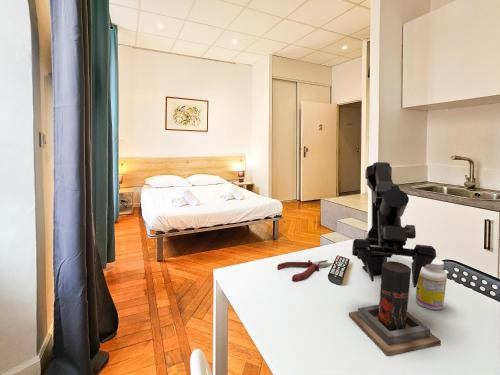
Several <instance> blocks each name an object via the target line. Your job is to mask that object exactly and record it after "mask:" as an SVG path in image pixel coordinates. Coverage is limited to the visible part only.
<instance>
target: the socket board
mask: <svg viewBox="0 0 500 375" xmlns="http://www.w3.org/2000/svg"><path fill="white" fill-rule="evenodd" d="M378 315H379V304H375V305H374V304H373V305H367V306H361V307H358V308H357V311H349V312H348V317H349V318H350V319H351V320H352V321H353V322H354V323H355V325H357V326H358V327H359V328H360V329H361V330H362V332H364V334H365V335H366V336H368V338H369V339H370V340H371V341H372V342H373V343H374V344H375V346H377V347H378V348H379V349H380V350H381V351H382V352H383V353H384V354H385V355H386V357H387V356H392V355H396V354H397V355H399V354H403V353H406V352H411V351H416V350H420V349H426V348H430V347H435V346H440V345H441V344H442V340H441V339H440V338H438V336H436V335H435V334H433V333H432V332H431V330H432V329H431V327H429V326H427V325H426V324H425V323H423V322H422V321H420V320H419V319H418V318H416V317H415V316H414V315H413V314H411V313H410V312H409V311H407V318H406V328H405V329H400V330H395V331H389V330H388V329H387V328H386V327H384V326H383V325H382V324H381V323H380V322H379V321H378Z"/></svg>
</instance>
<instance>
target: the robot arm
mask: <svg viewBox="0 0 500 375" xmlns="http://www.w3.org/2000/svg"><path fill="white" fill-rule="evenodd" d="M390 164H391V163H390V162H385V161H383V162H381V161H375V162H373V164H371V165H367V167H366V168H365V172H364V173H365V176H364V177H365V178H364V179H365V180H366V185H367V187H368V188H369V189H370V190H371V228H370V229H369V230H368V232H367V234H366V237H365V238H364V239H363V238H354V240H353V241H352V250H351V255H352V256H354V257H356V258H357V259H358V260H361V262H362V264H363V266H362V269H364V270H365V271H366V272H367V274H368V276H369V278H370V281H371V282H374V280H375V277H374V276H379V275H380V276H382V264H383V263H384V262H387V261H388V258H389V259H392V257H393V256H401V257H403V256H404V257H411V260H412V262H411V280H412V281H411V282H412V287H413V288H414V289H416V288H417V282H418V278H419V274H420V271H421V268H422V267H425V266H426V265H427V264H431V263H432V261H433V260H434V259H435V258H436V259H437V252H436V249H435V247H434V246H432V245H427V244H425V245H424V244H416V245H415V246H414V248H406V247H405V246H406V245H407V241H408V239H410V240H411V239H412V240H413V239H416V236H417V235H416V234H417V231H416V226H415V225H414V224H406V225H404V226H402V218H401V217H402V216H403V215H404V213H405V210H406V209H407V205H408V203H409V200H410V197H409V196H408V194H407V193H406V192H405V191H403V190H401V187H400V186H399V185H398V184H396V183H394V182H393V178H392V177H393V176H392V174H393V172H392V171H393V169H392V166H391V165H390ZM404 247H405V248H404Z"/></svg>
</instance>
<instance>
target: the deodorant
mask: <svg viewBox="0 0 500 375" xmlns="http://www.w3.org/2000/svg"><path fill="white" fill-rule="evenodd" d="M380 276H381V279H380V289H379V290H380V291H379V292H380V293H379V304H378V305H379V315H378V321H379V322H380V323H381V324H382V325H383V326H384V327H386V328H387V329H388V330H389V331H395V330H400V329H405V328H406V318H407V312H408V305H409V296H410V285H411V277H412V267H410V266H409V265H407V264H405V263H402V262H398V261H392V260H387V262H384V263H383V264H382V275H380Z"/></svg>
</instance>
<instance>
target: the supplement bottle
mask: <svg viewBox="0 0 500 375" xmlns="http://www.w3.org/2000/svg"><path fill="white" fill-rule="evenodd" d="M444 266H445V262H444V260H441V259H439V258H437V257H436V258H435V259H434V260H433V261H432V263H431V264H427V265H426V266H425V267H422V268H421V271H420V274H419V278H418V282H417V286H416V287H415V289H416V290H415V301H416V303H417V304H418V305H419V306H421V307H423V308H426V309H428V310H432V311H433V310H434V311H435V310H436V311H438V310H442V309H443V308H444V305H445V297H446V289H447V288H446V287H447V280H448V279H447V278H448V274H447V272H446V271H445V270H444Z"/></svg>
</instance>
